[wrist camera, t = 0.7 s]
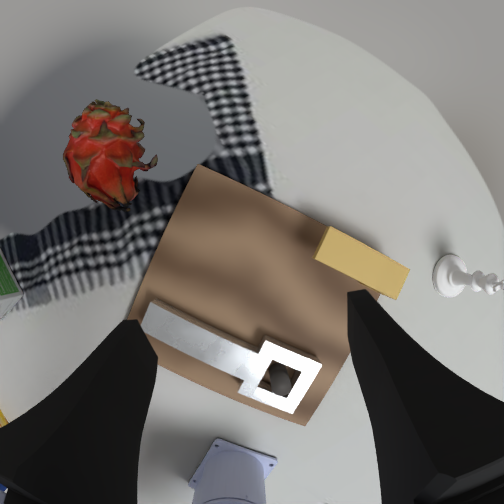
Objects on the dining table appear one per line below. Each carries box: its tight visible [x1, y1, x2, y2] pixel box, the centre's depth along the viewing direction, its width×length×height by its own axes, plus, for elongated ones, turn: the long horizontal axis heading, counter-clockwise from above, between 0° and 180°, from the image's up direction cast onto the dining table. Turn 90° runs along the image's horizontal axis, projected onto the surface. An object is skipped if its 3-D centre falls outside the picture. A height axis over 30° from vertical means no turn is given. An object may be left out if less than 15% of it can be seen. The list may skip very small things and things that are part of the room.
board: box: [127, 164, 380, 426], centre depth 29 cm, size 20×22×5 cm
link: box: [141, 298, 322, 414], centre depth 30 cm, size 17×6×2 cm, turn 64°
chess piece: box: [433, 255, 504, 297], centre depth 27 cm, size 5×5×10 cm
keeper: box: [312, 226, 410, 300], centre depth 29 cm, size 3×8×4 cm, turn 64°
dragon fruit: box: [63, 99, 158, 212], centre depth 28 cm, size 8×8×12 cm
